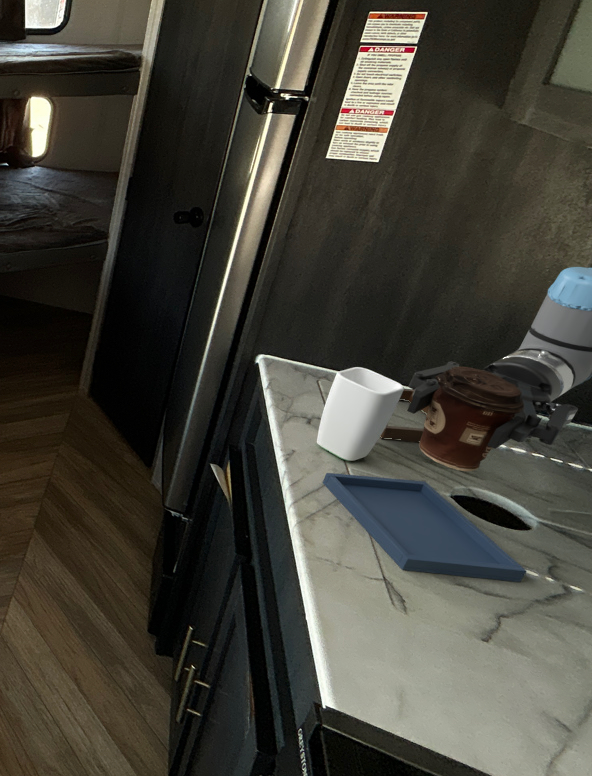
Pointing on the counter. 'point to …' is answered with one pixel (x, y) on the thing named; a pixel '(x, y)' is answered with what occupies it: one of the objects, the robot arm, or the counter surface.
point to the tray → (421, 528)
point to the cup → (357, 412)
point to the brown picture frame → (404, 432)
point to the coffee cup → (467, 416)
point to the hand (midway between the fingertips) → (453, 420)
